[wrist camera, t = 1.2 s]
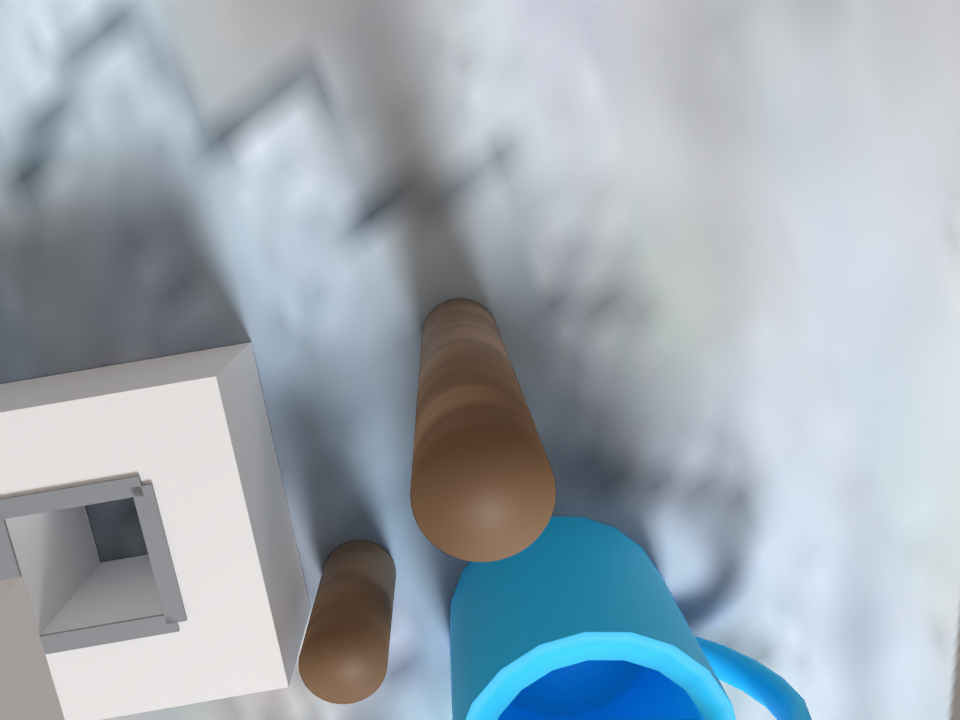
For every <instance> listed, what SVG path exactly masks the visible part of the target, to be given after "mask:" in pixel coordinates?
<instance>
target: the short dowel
mask: <svg viewBox="0 0 960 720" xmlns="http://www.w3.org/2000/svg"><path fill="white" fill-rule="evenodd" d="M395 579H396V569H395V565H394V562H393V559H392V558H391V556H390V555H389V553H388V552H387V551H386V550H385V549H384V548H382V547H381V546H379V545H377V544H375V543H373V542H370V541H365V540H354V541H349V542H346V543H344V544H342V545H340V546H338V547H337V548H336V549H334V550H333V551H332V552H331V554H330V555H329V557H328V558H327V560H326V562H325V566H324V569H323V573H322V577H321V580H320V584H319V587H318V591H317V595H316V598H315V602H314V606H313V609H312V613H311V616H310V620H309V624H308V627H307V631H306V635H305V638H304V642H303V645H302V649H301V653H300V656H299V672H300V675H301V678H302V680H303V682H304V684H305V685H306V687H307V688H308V689H309V690H310V691H311V692H312V693H313V694H314V695H316V696H317V697H319V698H321V699H323V700H325V701H328V702H331V703H336V704H350V703H355V702H358V701H361V700H363V699H365V698H367V697H369V696H370V695H372V694H373V693H374V692H375V691H376V690H377V689H378V688H379V687H380V685H381V684H382V682H383V680H384V678H385V675H386V671H387V662H388V652H389V641H390V631H391V621H392V610H393V600H394V590H395Z"/></svg>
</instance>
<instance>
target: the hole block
mask: <svg viewBox="0 0 960 720" xmlns="http://www.w3.org/2000/svg"><path fill="white" fill-rule="evenodd" d="M132 497H133V498H134V502H135V506H136V510H137V513H138V517H139V521H140V525H141V529H142V532H143V536H144V540H145V544H146V548H147V551H148V555H142V556H136V557H130V558H124V559H119V560H113V561H107V562H101V563H100V559H99V555H98V552H97V548H96V544H95V541H94V537H93V534H92V530H91V526H90V523H89V519H88V515H87V512H86V508H85V505H91V504H97V503H103V502H109V501H115V500H120V499H126V498H132ZM18 577H22V578H23V582H24V585H25V588H26V592H27V595H28V598H29V602H30V605H31V608H32V612H33V615H34V618H35V622H36V625H37V628H38V632H39V635H40V638H41V642H42V645H43V648H44V652H45V655H46V658H47V662H48V665H49V668H50V672H51V675H52V678H53V682H54V685H55V688H56V692H57V695H58V698H59V702H60V705H61V708H62V712H63V715H64V719H65V720H101V719H107V718H112V717H118V716H124V715H130V714H136V713H141V712H147V711H153V710H159V709H164V708H170V707H176V706H182V705H188V704H193V703H199V702H205V701H211V700H216V699H222V698H228V697H234V696H239V695H245V694H251V693H257V692H263V691H268V690H274V689H280V688H286V687H289V684H290V680H291V677H292V673H293V669H294V666H295V662H296V659H297V655H298V651H299V648H300V644H301V641H302V637H303V634H304V630H305V626H306V623H307V619H308V616H309V612H310V604H309V599H308V595H307V590H306V586H305V581H304V577H303V572H302V568H301V563H300V559H299V554H298V550H297V545H296V541H295V536H294V532H293V527H292V523H291V518H290V514H289V509H288V505H287V500H286V496H285V491H284V487H283V482H282V478H281V473H280V469H279V464H278V460H277V455H276V451H275V446H274V442H273V437H272V433H271V429H270V424H269V420H268V415H267V411H266V406H265V402H264V397H263V393H262V388H261V384H260V379H259V375H258V370H257V366H256V361H255V357H254V352H253V348H252V343H251V342H249V343H243V344H237V345H231V346H225V347H219V348H213V349H207V350H201V351H195V352H189V353H183V354H177V355H171V356H165V357H159V358H153V359H147V360H141V361H135V362H129V363H123V364H117V365H111V366H105V367H99V368H93V369H87V370H81V371H76V372H70V373H64V374H58V375H52V376H46V377H40V378H34V379H28V380H22V381H16V382H10V383H4V384H0V580H6V579H12V578H18Z"/></svg>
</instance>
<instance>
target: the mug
mask: <svg viewBox="0 0 960 720" xmlns="http://www.w3.org/2000/svg"><path fill="white" fill-rule="evenodd" d="M450 657H451V685H452V714H453V720H736V718H735V714H734V710H733V706H732V703H731V701H730V700H729V698H728V696H727V694H726V692H725V690H724V689H723V687H722V685H721V683H720V681H719V680H721V681H723V682H725V683H728V684H730V685H732V686H734V687H736V688H738V689H740V690H742V691H744V692H745V693H747V694H748V695H749V696H751V697H752V698H754V699H755V700H757V701H758V702H759V703H761V704H762V705H764V706H765V707H766V708H767V709H768V710H769V711H770V712H771V713H772V714H773V715H774V717H775V718H776V719H777V720H812V719H811V716H810V714H809V711H808V709H807V706H806V703H805V701H804V699H803V698H802V697H801V696H800V695H799V694H798V693H797V692H796V691H795V690H794V689H793V688H792V687H791V686H790V685H789V684H788V683H787V682H786V681H785V680H784V679H783V678H782V677H781V676H779V675H777V674H776V673H774V672H773V671H771V670H770V669H768V668H767V667H765V666H764V665H762V664H761V663H759V662H758V661H756V660H754V659H752V658H750V657H747V656H745V655H743V654H741V653H739V652H737V651H735V650H732V649H730V648H728V647H726V646H724V645H721V644H717V643H714V642H711V641H708V640H705V639H702V638H699V637H696V636H694V634H693V633H692V631H691V629H690V627H689V625H688V624H687V622H686V620H685V618H684V616H683V615H682V613H681V611H680V609H679V607H678V605H677V604H676V602H675V600H674V598H673V596H672V595H671V593H670V591H669V589H668V587H667V586H666V584H665V582H664V580H663V578H662V577H661V575H660V573H659V572H658V570H657V569H656V567H655V566H654V564H653V563H652V561H651V560H650V558H649V557H648V556H647V554H646V553H645V551H644V550H643V548H642V547H641V546H639V545H638V544H637V543H635V542H634V541H633V540H631V539H630V538H629V537H627V536H626V535H624V534H623V533H622V532H620V531H619V530H618V529H616V528H615V527H612V526H609V525H606V524H603V523H599V522H596V521H593V520H590V519H587V518H584V517H551V518H550V520H549V522H548V524H547V526H546V528H545V529H544V530H543V532H542V533H541V535H540V536H539V537H538V538H537V539H536V540H535V541H534V542H533V543H532V544H531V545H529V546H528V547H527V548H525V549H524V550H522V551H521V552H519V553H517V554H515V555H513V556H511V557H508V558H505V559H502V560H497V561H491V562H472V561H471V562H470V563H469V564H468V566H467V567H466V568H465V569H464V570H463V572H462V574H461V577H460V579H459V582H458V585H457V587H456V590H455V592H454V595H453V598H452V600H451V608H450ZM718 679H719V680H718Z"/></svg>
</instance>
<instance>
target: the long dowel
mask: <svg viewBox="0 0 960 720" xmlns="http://www.w3.org/2000/svg"><path fill="white" fill-rule="evenodd" d="M410 499H411V507H412V511H413V515H414V517H415V520H416V522H417V524H418V526H419V528H420V529H421V531H422V532H423V534H424V535H425V536H426V538H427V539H428V540H429V541H430V542H431V543H432V544H433V545H435V546H436V547H437V548H439V549H440V550H441V551H443V552H445V553H447V554H449V555H451V556H453V557H456V558H458V559H462V560H466V561H472V562H491V561H497V560H502V559H505V558H508V557H511V556H513V555H515V554H517V553H519V552H521V551H522V550H524V549H525V548H527V547H528V546H529V545H531V544H532V543H533V542H534V541H535V540H536V539H537V538H538V537H539V536H540V535H541V533H542V532H543V530H544V529H545V528H546V526H547V524H548V522H549V520H550V518H551V515H552V513H553V510H554V505H555V499H556V485H555V479H554V474H553V471H552V469H551V466H550V463H549V461H548V458H547V456H546V453H545V450H544V448H543V445H542V443H541V440H540V437H539V435H538V432H537V430H536V427H535V424H534V422H533V419H532V417H531V414H530V411H529V409H528V406H527V404H526V401H525V398H524V396H523V393H522V391H521V388H520V385H519V383H518V380H517V378H516V375H515V372H514V370H513V367H512V365H511V362H510V359H509V357H508V354H507V352H506V349H505V346H504V344H503V341H502V339H501V336H500V333H499V331H498V328H497V326H496V323H495V320H494V319H493V317H492V315H491V314H490V312H489V311H488V310H487V309H486V308H484V307H483V306H482V305H480V304H479V303H477V302H474V301H472V300H468V299H452V300H448V301H446V302H443V303H442V304H440V305H438V306H437V307H436V308H434V309H433V310H432V311H431V313H430V314H429V315H428V317H427V318H426V321H425V323H424V326H423V330H422V341H421V354H420V368H419V381H418V395H417V409H416V422H415V436H414V449H413V463H412V476H411V493H410Z"/></svg>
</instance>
